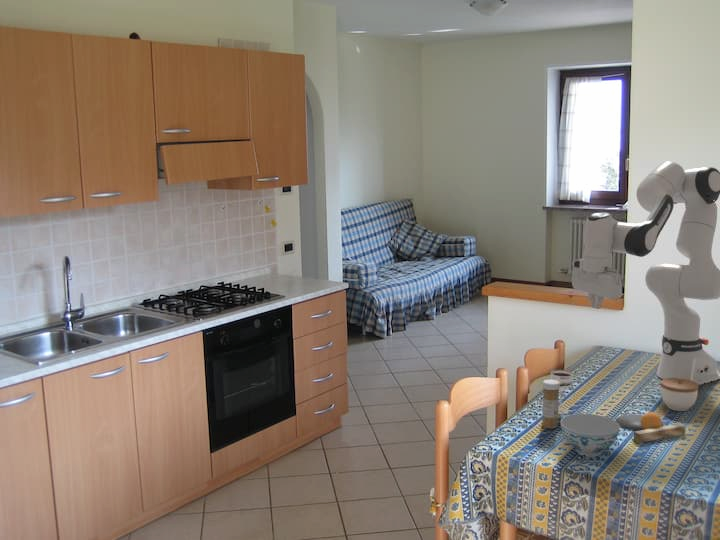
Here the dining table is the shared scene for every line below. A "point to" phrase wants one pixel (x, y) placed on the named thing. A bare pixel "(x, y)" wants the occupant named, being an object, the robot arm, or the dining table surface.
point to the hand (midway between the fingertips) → (595, 307)
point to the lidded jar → (679, 393)
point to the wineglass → (562, 384)
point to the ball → (650, 420)
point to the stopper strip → (659, 433)
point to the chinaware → (589, 432)
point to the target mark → (631, 422)
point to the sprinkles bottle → (550, 403)
